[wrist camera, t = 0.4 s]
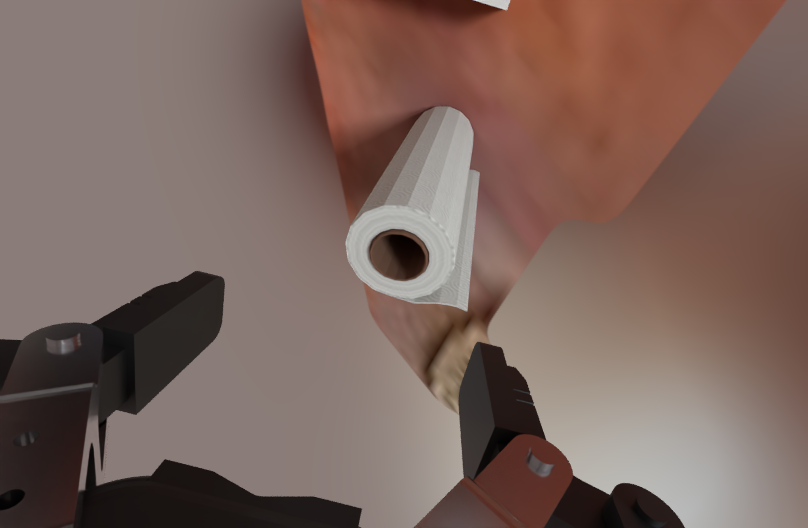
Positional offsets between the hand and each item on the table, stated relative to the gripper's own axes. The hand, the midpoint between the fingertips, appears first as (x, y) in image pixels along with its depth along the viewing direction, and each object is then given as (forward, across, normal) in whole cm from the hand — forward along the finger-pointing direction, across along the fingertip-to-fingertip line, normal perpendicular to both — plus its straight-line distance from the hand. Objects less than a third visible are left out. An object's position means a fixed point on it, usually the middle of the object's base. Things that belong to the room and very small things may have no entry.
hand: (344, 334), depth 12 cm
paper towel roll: (+30, -2, -5) cm, 30 cm away
